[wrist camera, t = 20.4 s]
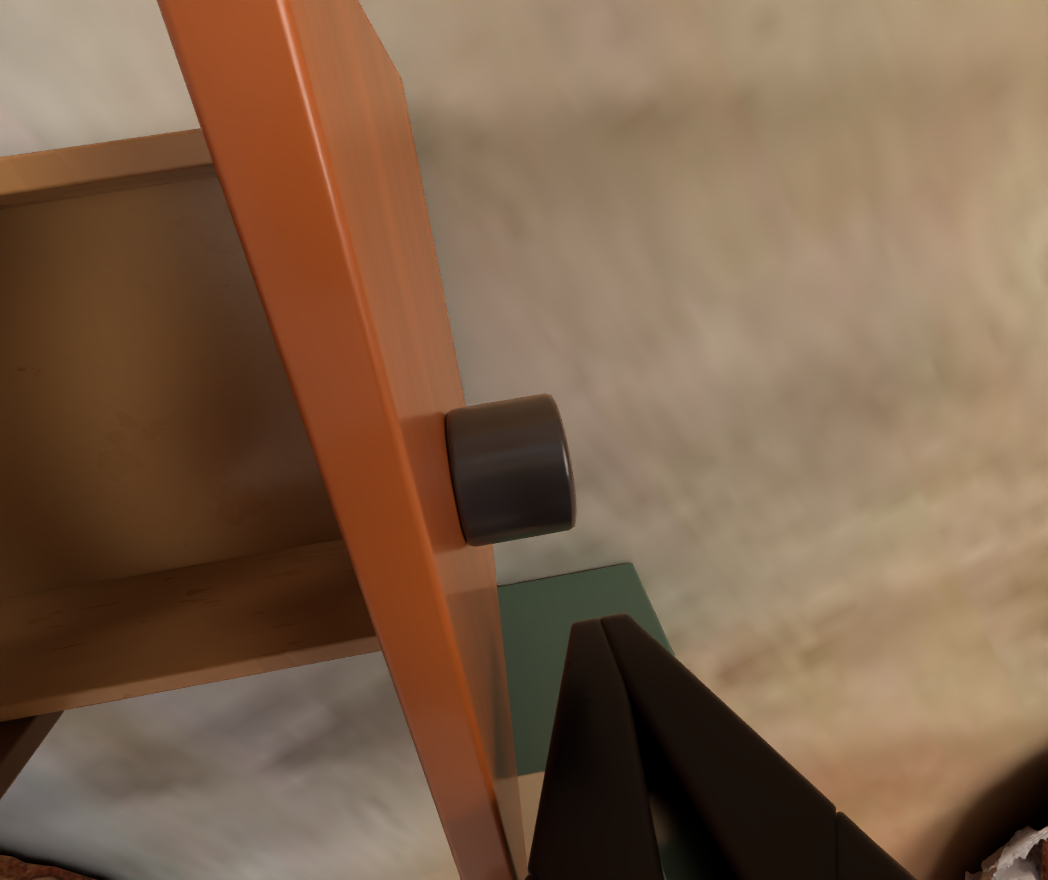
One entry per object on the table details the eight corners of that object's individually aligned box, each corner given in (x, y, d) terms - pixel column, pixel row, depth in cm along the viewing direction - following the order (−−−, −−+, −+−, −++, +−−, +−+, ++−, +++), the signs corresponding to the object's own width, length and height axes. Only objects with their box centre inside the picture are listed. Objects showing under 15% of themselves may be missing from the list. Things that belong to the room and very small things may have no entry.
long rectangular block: (634, 559, 16) (929, 1194, 6) (640, 682, 18) (863, 1288, 8) (471, 589, 16) (503, 1296, 6) (499, 709, 18) (554, 1364, 8)
